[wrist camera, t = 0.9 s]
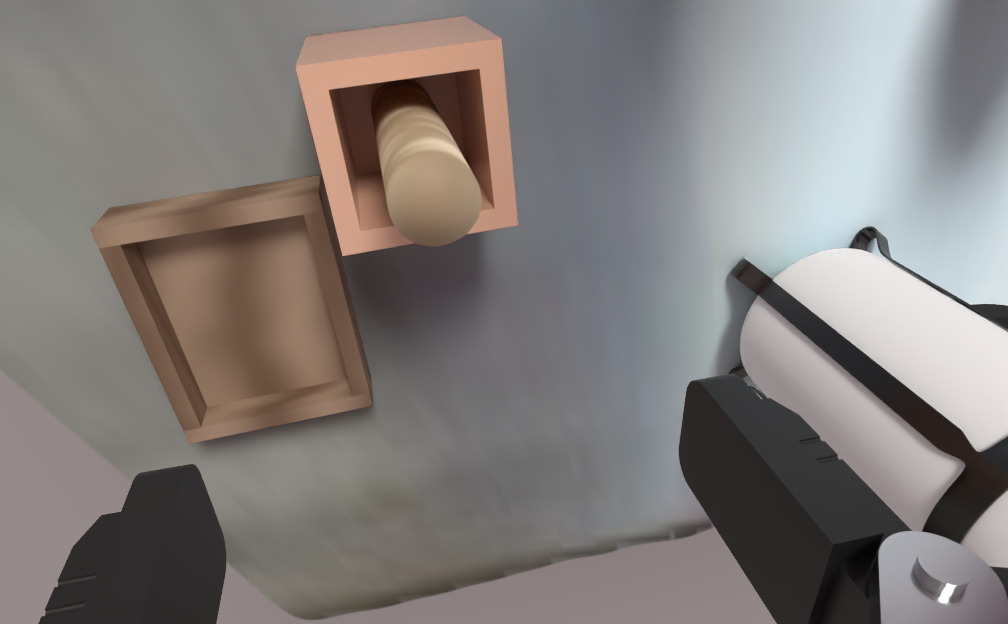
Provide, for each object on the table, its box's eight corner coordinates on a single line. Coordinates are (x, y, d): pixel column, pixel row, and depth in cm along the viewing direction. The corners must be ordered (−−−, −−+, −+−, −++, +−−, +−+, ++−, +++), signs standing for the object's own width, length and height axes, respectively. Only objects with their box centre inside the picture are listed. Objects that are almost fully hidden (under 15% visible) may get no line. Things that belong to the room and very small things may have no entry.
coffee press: (784, 423, 54) (1182, 858, 28) (663, 334, 46) (1056, 816, 21) (954, 267, 49) (1612, 620, 24) (850, 141, 42) (1648, 457, 16)
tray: (320, 174, 35) (318, 193, 33) (370, 378, 43) (372, 405, 40) (109, 208, 34) (90, 229, 31) (198, 412, 41) (189, 443, 39)
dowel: (427, 74, 33) (475, 149, 21) (436, 136, 35) (486, 237, 23) (365, 83, 33) (379, 164, 21) (377, 145, 34) (396, 253, 22)
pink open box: (464, 15, 33) (501, 38, 25) (482, 166, 37) (518, 225, 29) (306, 36, 32) (295, 66, 24) (342, 189, 36) (342, 255, 28)
